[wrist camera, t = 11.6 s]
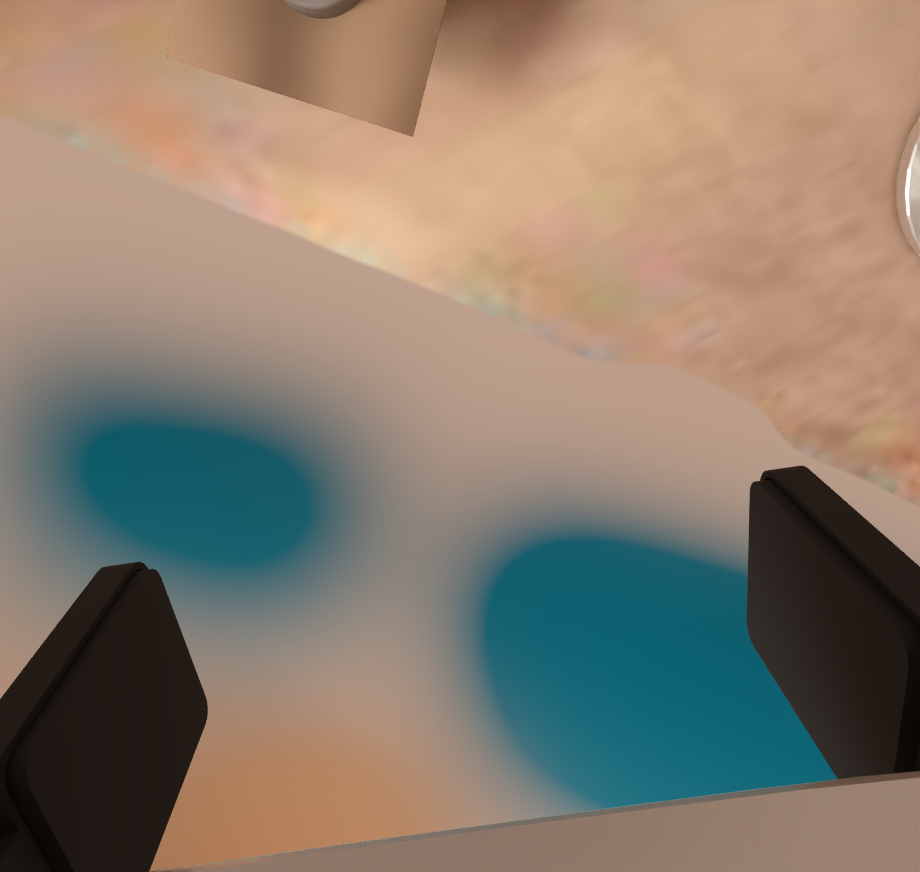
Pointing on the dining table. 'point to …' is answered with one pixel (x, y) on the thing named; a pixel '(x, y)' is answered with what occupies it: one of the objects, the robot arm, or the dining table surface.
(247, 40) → the lid
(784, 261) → the dining table surface
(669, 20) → the dining table surface
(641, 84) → the dining table surface
